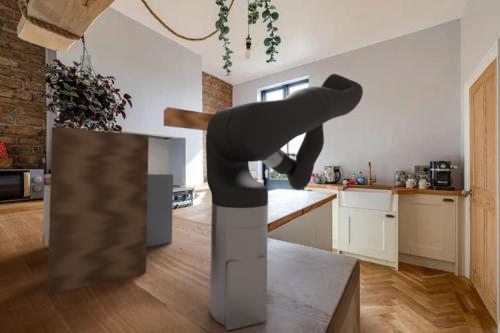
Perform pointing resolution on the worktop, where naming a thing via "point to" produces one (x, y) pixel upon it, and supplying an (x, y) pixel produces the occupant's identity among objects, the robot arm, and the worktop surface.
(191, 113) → the brown bar
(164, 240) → the slate pedestal
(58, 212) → the walnut pedestal
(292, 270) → the worktop surface
